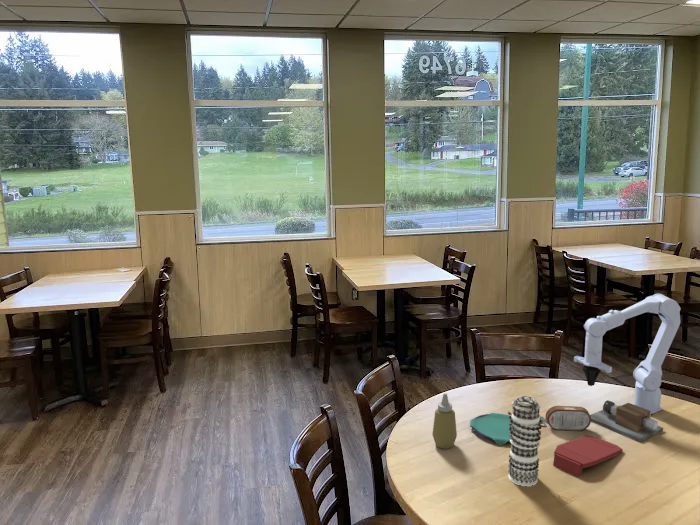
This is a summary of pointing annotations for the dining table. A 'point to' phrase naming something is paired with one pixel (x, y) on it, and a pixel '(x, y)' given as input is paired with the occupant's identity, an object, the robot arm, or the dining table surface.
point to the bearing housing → (626, 422)
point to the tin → (568, 418)
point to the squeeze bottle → (444, 424)
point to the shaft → (648, 422)
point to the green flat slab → (494, 426)
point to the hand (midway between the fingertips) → (591, 385)
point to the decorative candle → (524, 441)
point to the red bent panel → (583, 453)
